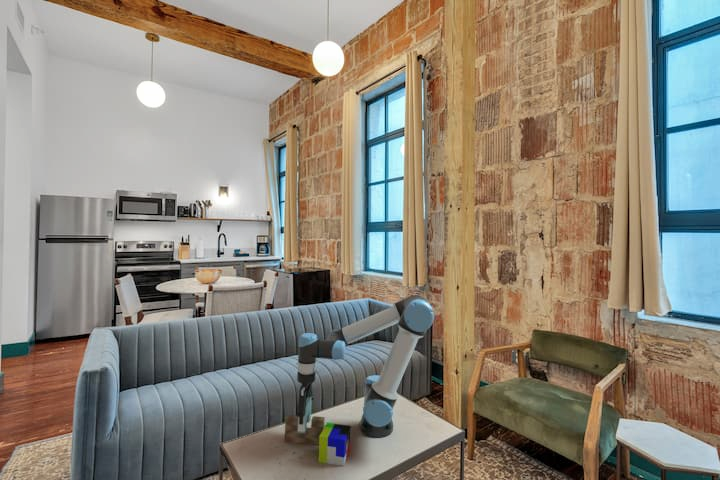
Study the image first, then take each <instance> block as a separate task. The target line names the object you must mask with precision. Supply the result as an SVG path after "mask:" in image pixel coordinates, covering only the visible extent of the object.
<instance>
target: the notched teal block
mask: <svg viewBox="0 0 720 480" xmlns="http://www.w3.org/2000/svg"><path fill="white" fill-rule="evenodd" d="M311 398H313V396H311V397H308V398H307V402H306V408H305V432H306V430H307V428H308V423H309V424H310V422H311V420H312V400H311ZM305 432H301V431H298V433H305Z"/></svg>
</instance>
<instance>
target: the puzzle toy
mask: <svg viewBox="0 0 720 480" xmlns="http://www.w3.org/2000/svg"><path fill="white" fill-rule="evenodd" d="M351 428H352V427H351V425H346V424H339V423H332V422H326V423H325V424H324V429H323V431H322V432H321V434H320V436H319V444H318V463H322V464H323V463H324V464H329V465H334V466H335V465H336V466H342V467H345V464H346V462H347V460H348V456H349V453H350V452H351V451H350V450H351V434H352V433H351V431H352V429H351Z"/></svg>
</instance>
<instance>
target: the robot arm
mask: <svg viewBox="0 0 720 480" xmlns="http://www.w3.org/2000/svg"><path fill="white" fill-rule="evenodd" d="M434 320H435V314H434V309H433V307H432V306H431V304H430V303H429V302H428V301H427V299H426V298H425V297H423V296H421V295H418V294H413V295H410V296H406V297H404V298H402V299H400V300H398V301H396V302H394V303H393V305H392V306H391V307H388V308H386V309H384V310H382V311H379V312H377V313H374V314H372V315H369V316H367V317H365V318H363V319H361V320H358V321H356V322H354V323H351V324H348V325H347V326H344V327H342V328H339V329H333V330H331V331H330V332H329V333H328V334H327V336H326V339H318V336H317V335H318V334H315V333H312V332H306V333H301V334H300V336H299V339H298V345H297V346H298V347H297V349H298V354H297V355H298V356H297V362H296V365H297V375H296V376H297V377H296V378H297V379H296V380H297V382H298V383H299V384H301V385H300V388H299V390H298V392H299V396H298V403H297V404H298V405H297V413H296V414H295V415H296V416H297V417H298V431H301V432H305V408H306V402H307V398H308V397H311V396H312V398H311V401H314V397H313V396H314V395H313V383H315V381H316V371H317V359H323V360H334V361H337V360H343V359H344V358H345V355H346V346H347V345H349V344H351V343H354V342H356V341H359V340H361V339H363V338H366V337H368V336H370V335H372V334H376V333H378V332H380V331H382V330H385V329H387V328H390V327H392V326H394V325H397V326H398V331H397V334H396V336H395V339H394V341H393V344H392V345H391V349H390V351H389V353H388V356H387V357H386V360H385V362H384V364H383V367H382V370H381V372H380V374H379V375H369V376H367V377H366V378H365V382H364V401H363V407H362V408H363V409H362V411H363V413H362V416H361V418H360V422H359V429H360V431H361V432H362V433H363V434H365V435H367V436H369V437H372V438H384V437H387V436H390V435H391V434H393V431H394V421H393V416H394V415H393V414H394V411H393V409H394V407H395V405H396V402H397V400H398V398H399V396H398V392H397V390H398V388H399V386H400V383H401V381H402V378H403V376H404V374H405V372H406V369H407V366H408V364H409V363H410V360H411V357H412V355H413V353H414V350H415V348H416V346H417V343H418V342H419V339H421V338H423V337H425V335H426V332H427V330H429V328H431V326H432V325H433V323H434Z"/></svg>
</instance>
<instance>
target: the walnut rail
mask: <svg viewBox="0 0 720 480" xmlns="http://www.w3.org/2000/svg"><path fill="white" fill-rule="evenodd" d="M284 419H285V423H284V442H285V443H293V444H294V443H295V444H308V445H319V436H320V434H321V432H322V431H323V429H324V427H325V419H326V418H325V416H318V415H317V416H316V415H314V416H311V420H310V422H311V424H310V425H311V427H307V430H306V432H305V433H298V417H297V416H296V414H289V413H287V415H286V417H285V418H284Z"/></svg>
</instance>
